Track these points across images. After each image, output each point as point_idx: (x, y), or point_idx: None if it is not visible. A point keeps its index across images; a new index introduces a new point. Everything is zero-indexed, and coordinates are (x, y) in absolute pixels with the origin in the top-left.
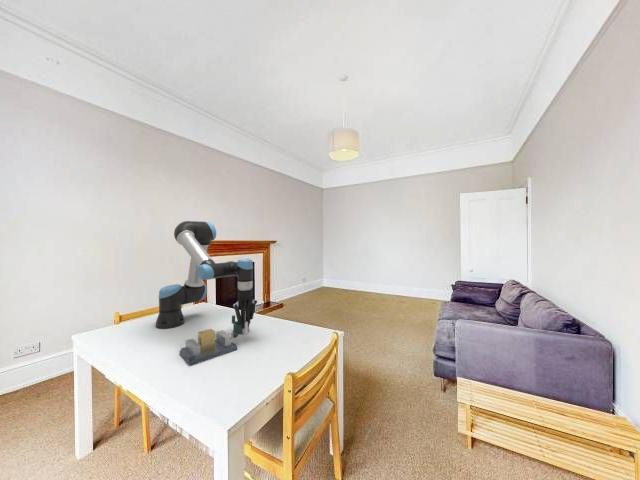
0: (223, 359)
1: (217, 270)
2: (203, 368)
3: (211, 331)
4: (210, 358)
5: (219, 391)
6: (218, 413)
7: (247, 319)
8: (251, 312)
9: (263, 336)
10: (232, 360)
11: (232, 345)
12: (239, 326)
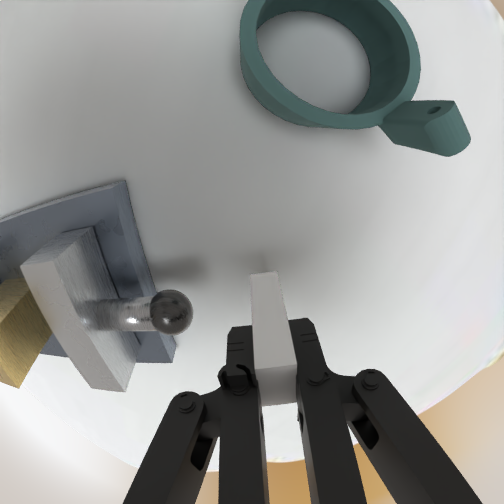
0: None
1: None
2: (63, 374)
3: (5, 380)
4: None
5: (119, 442)
6: (124, 458)
7: (299, 423)
8: (381, 472)
9: (386, 273)
10: (146, 394)
11: (147, 348)
12: (285, 109)
